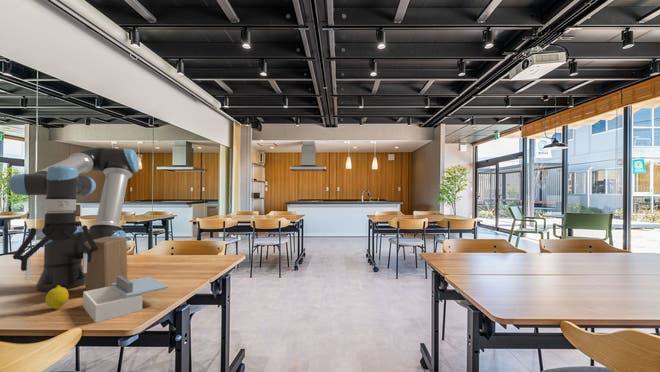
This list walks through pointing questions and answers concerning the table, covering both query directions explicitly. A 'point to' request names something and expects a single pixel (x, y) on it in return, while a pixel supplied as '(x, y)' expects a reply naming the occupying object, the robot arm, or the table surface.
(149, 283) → the lid
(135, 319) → the table surface
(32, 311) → the table surface
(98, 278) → the wooden block
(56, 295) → the fruit
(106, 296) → the box
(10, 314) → the table surface
